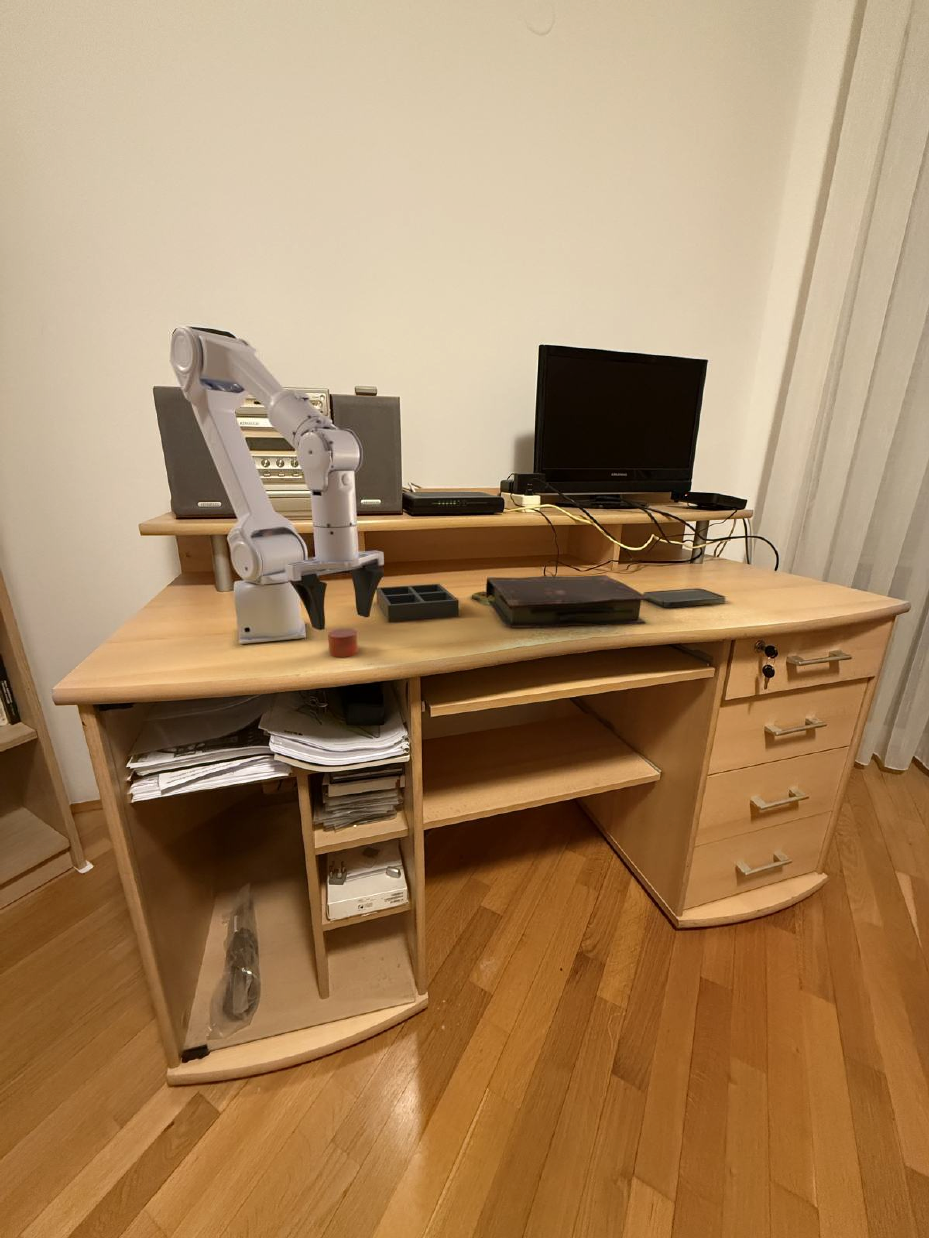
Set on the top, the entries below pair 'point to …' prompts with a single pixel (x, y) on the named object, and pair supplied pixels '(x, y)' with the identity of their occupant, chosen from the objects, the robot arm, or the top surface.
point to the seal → (482, 598)
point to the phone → (684, 597)
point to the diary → (564, 601)
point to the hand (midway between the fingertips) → (341, 621)
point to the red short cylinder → (342, 642)
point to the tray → (416, 602)
